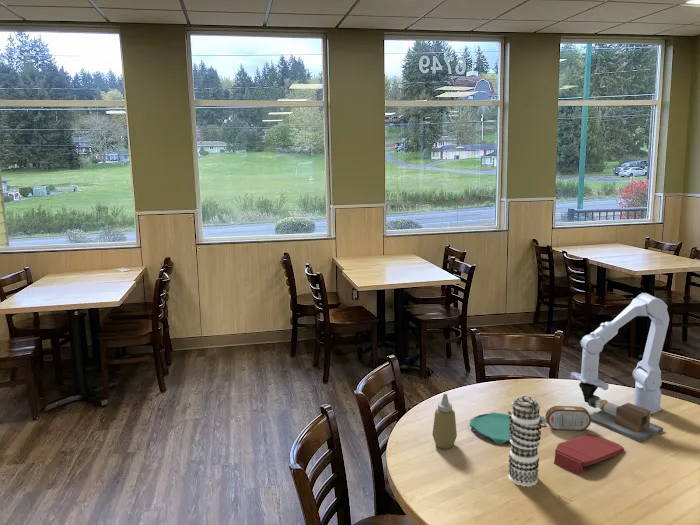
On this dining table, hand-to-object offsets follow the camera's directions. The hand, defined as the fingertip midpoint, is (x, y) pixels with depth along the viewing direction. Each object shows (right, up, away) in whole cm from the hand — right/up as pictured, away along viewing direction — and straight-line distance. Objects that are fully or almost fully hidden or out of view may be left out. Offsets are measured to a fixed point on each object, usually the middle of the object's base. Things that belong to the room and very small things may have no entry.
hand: (587, 401), depth 207 cm
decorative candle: (-38, -12, -43) cm, 59 cm away
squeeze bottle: (-58, -9, -23) cm, 63 cm away
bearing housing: (+8, -5, -12) cm, 15 cm away
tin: (-13, -7, -14) cm, 20 cm away
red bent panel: (-13, -10, -31) cm, 35 cm away
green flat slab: (-33, -7, -11) cm, 35 cm away
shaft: (+6, -3, -9) cm, 11 cm away
